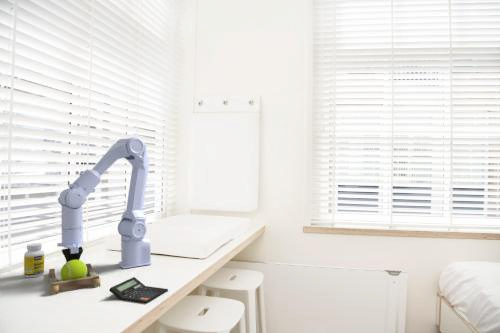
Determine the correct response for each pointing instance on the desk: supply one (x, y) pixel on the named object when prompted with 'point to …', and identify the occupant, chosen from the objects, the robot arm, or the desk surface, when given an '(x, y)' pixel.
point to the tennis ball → (73, 270)
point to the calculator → (136, 291)
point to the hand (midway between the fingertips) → (72, 272)
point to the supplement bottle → (34, 260)
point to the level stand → (73, 281)
